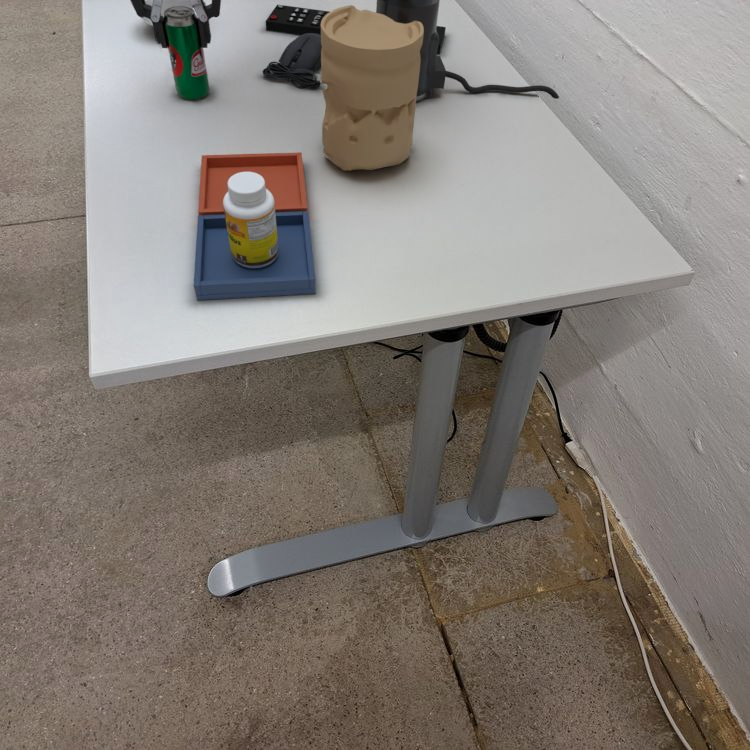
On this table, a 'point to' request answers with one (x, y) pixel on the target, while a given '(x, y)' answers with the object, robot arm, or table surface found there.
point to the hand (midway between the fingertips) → (185, 45)
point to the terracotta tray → (275, 168)
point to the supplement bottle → (250, 220)
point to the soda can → (186, 52)
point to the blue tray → (232, 280)
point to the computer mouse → (299, 62)
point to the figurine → (166, 6)
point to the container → (368, 87)
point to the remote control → (309, 22)
